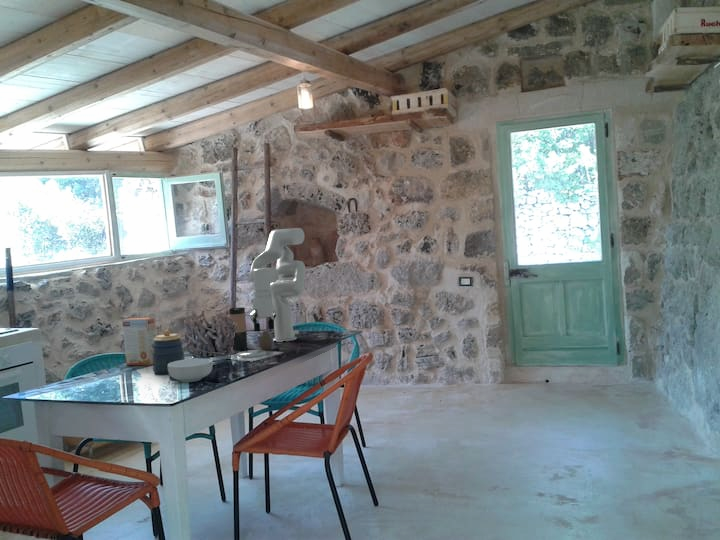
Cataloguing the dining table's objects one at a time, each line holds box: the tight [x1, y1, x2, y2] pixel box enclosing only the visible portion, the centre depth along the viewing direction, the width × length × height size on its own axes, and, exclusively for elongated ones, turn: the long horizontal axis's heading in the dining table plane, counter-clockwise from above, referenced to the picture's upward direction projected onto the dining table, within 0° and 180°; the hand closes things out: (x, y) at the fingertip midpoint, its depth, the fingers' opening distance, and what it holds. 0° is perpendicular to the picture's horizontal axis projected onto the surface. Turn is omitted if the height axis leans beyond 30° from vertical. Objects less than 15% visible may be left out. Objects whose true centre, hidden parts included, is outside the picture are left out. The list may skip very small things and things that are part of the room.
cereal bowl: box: [168, 358, 214, 383], centre depth 249 cm, size 17×17×7 cm
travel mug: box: [228, 307, 248, 351], centre depth 315 cm, size 8×8×20 cm
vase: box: [258, 330, 274, 351], centre depth 309 cm, size 7×7×9 cm
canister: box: [151, 329, 186, 376], centre depth 268 cm, size 13×13×18 cm
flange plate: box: [230, 349, 284, 363], centre depth 292 cm, size 20×20×2 cm
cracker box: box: [122, 317, 157, 367], centre depth 290 cm, size 14×6×21 cm, turn 65°
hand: (264, 330), depth 308 cm, fingers open, 9 cm apart
